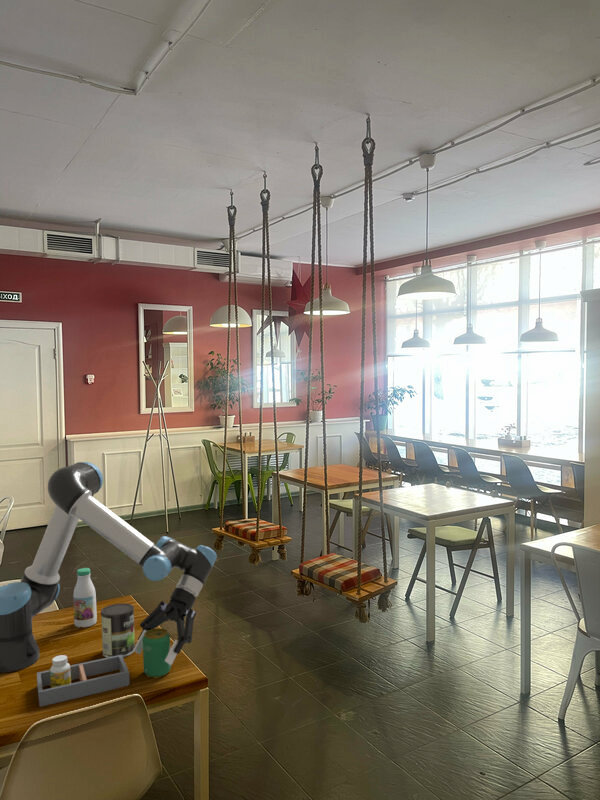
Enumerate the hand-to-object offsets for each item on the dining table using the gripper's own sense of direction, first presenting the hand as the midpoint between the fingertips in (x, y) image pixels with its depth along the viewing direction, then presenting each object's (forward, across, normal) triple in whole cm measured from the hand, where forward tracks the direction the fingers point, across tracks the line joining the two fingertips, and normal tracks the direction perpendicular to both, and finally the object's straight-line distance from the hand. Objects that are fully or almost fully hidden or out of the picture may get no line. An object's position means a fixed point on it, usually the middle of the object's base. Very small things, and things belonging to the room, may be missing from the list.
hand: (151, 657), depth 183 cm
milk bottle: (-6, +50, -14) cm, 52 cm away
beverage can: (+2, 0, -5) cm, 6 cm away
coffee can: (0, +21, -8) cm, 23 cm away
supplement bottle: (+18, +15, +10) cm, 26 cm away
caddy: (+14, +12, +7) cm, 20 cm away
